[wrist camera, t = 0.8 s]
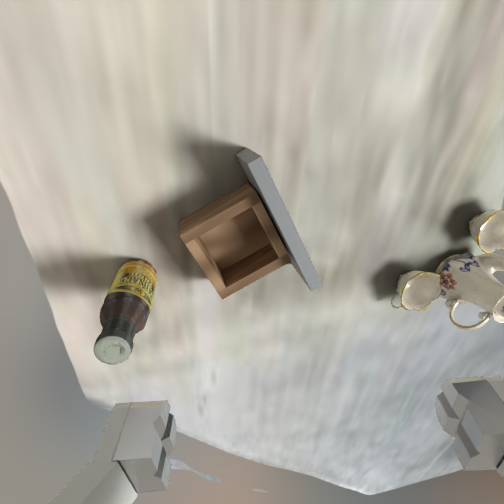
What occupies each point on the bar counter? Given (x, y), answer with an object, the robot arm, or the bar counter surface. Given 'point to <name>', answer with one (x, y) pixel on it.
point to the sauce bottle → (125, 310)
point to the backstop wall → (278, 215)
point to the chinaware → (463, 276)
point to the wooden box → (233, 240)
